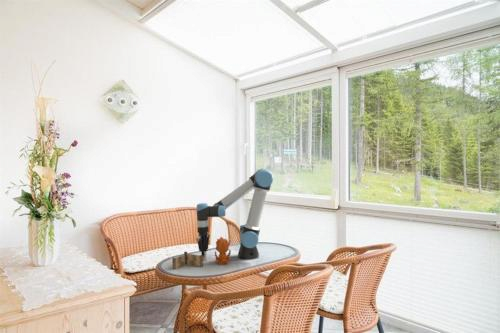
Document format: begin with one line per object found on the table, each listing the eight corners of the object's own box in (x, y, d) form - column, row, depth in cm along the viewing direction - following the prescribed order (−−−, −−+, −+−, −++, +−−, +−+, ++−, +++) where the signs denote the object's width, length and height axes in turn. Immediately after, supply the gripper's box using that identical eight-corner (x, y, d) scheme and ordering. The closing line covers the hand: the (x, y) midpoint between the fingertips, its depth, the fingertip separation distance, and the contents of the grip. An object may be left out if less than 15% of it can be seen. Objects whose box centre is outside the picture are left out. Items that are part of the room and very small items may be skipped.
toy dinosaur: (227, 260, 240) (226, 234, 240) (233, 264, 231) (232, 237, 230) (212, 262, 236) (211, 236, 235) (217, 266, 226) (217, 239, 225)
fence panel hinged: (186, 264, 230) (186, 253, 230) (188, 263, 232) (188, 252, 232) (201, 267, 224) (201, 255, 224) (203, 266, 226) (202, 254, 226)
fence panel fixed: (185, 263, 233) (185, 251, 233) (188, 264, 232) (187, 251, 232) (172, 269, 221) (172, 256, 221) (174, 270, 221) (174, 257, 220)
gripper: (202, 228, 225) (203, 264, 226) (212, 224, 237) (213, 258, 237) (192, 227, 228) (194, 263, 229) (203, 224, 240) (204, 257, 241)
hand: (204, 260), depth 233 cm, fingers closed
